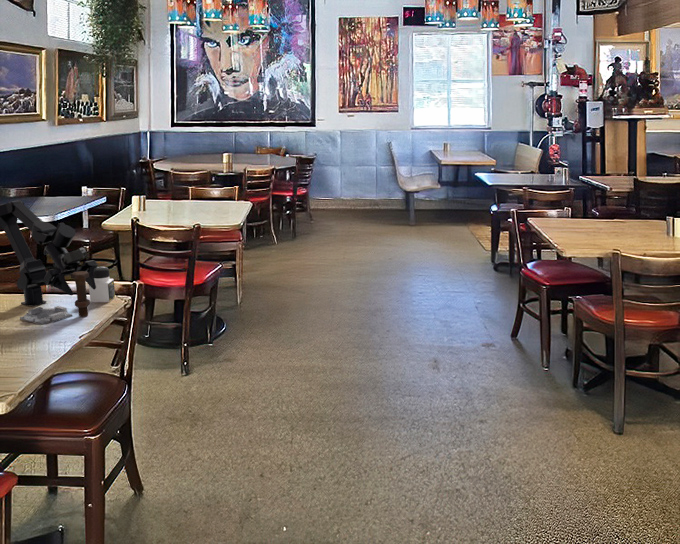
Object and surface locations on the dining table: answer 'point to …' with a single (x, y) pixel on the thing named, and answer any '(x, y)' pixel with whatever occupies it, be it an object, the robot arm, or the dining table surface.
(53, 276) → the robot arm
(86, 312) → the bolt
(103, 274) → the medicine bottle
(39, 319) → the ring collar
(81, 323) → the dining table surface
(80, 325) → the dining table surface
